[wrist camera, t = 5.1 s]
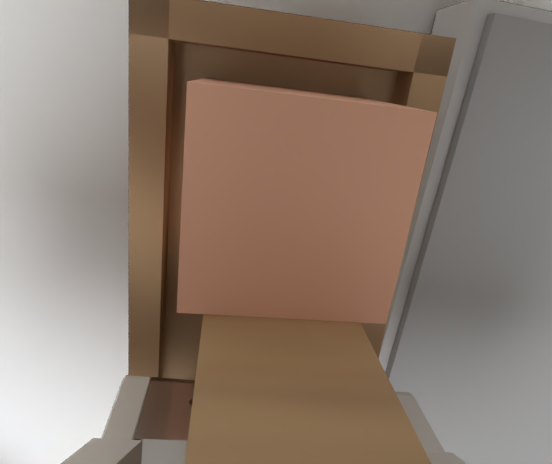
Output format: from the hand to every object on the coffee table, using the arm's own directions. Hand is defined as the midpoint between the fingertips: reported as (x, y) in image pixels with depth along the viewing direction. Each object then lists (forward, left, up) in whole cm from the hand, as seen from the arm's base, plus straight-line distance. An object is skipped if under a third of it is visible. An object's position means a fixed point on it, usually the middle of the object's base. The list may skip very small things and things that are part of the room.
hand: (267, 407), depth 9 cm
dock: (0, +11, -8) cm, 13 cm away
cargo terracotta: (-4, 0, -4) cm, 6 cm away
